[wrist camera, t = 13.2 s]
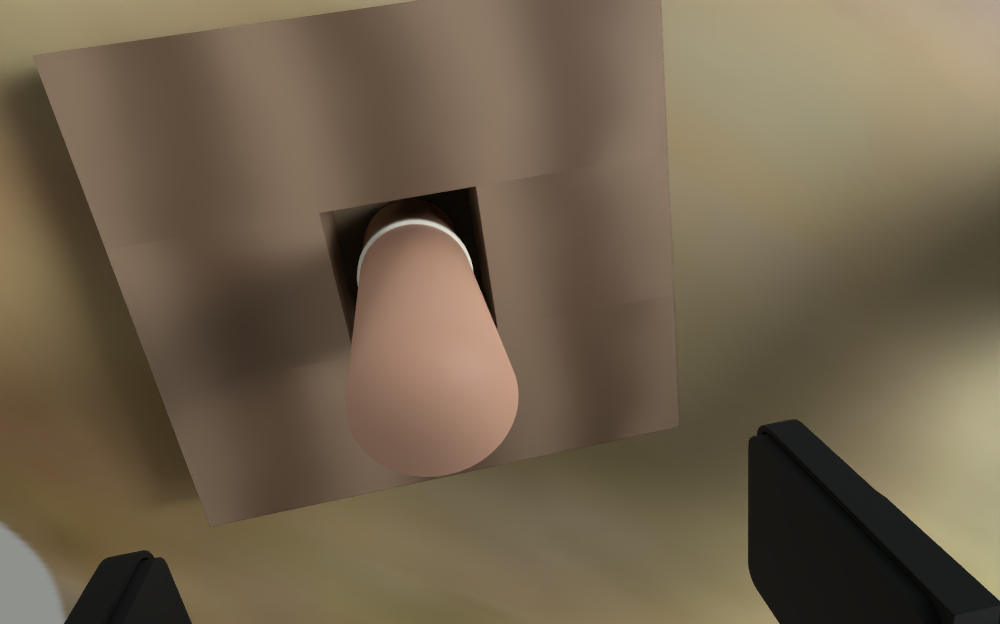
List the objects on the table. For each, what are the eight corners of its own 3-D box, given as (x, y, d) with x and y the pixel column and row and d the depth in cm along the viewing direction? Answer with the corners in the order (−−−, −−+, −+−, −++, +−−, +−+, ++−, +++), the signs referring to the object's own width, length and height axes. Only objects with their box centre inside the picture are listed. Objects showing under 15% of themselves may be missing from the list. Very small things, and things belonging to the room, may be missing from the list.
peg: (451, 188, 28) (509, 303, 15) (467, 282, 29) (532, 460, 16) (351, 205, 27) (320, 338, 14) (372, 300, 29) (362, 496, 16)
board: (620, -21, 26) (659, -34, 22) (646, 384, 33) (679, 426, 29) (86, 56, 24) (32, 55, 20) (231, 470, 31) (210, 526, 27)
